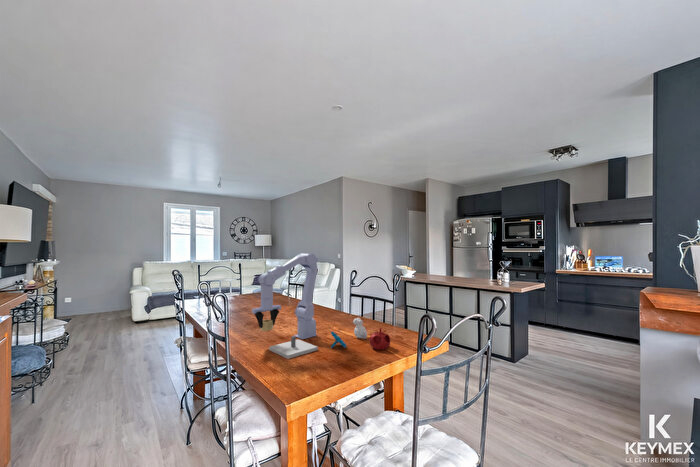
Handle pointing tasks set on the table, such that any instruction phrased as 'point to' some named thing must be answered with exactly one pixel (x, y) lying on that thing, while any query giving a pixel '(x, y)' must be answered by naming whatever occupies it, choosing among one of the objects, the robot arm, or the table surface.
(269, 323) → the ring
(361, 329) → the white animal figurine
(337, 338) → the blue branched piece
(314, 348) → the grey peg base
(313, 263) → the robot arm
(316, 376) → the table surface
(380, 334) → the pomegranate
